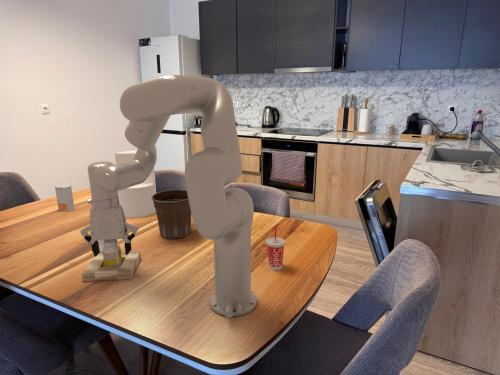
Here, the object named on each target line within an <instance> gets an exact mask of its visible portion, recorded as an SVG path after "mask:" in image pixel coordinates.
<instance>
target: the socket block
mask: <svg viewBox="0 0 500 375" xmlns="http://www.w3.org/2000/svg"><path fill="white" fill-rule="evenodd" d="M121 255H122V264H121V266H115V267H105V265H104V259H103V253H101V252H100V253H99V254H98V255H97V256H95V257H94V256H93V258H92V260H91V261H90V263H89V264H88V265H87V266H86V268H85V269H84V270H83V271H82V272H81V277H82V282H94V281H95V282H96V281H116V280H117V281H119V280H131V279H132V277H133V275H134V273H135V270H136V268H137V266H138V265H139V262H140V260H141V259H142V258H141V251H140V250H139V251H130V253H129V254H128V255H126V254H125V251H121Z"/></svg>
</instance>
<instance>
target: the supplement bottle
mask: <svg viewBox="0 0 500 375" xmlns="http://www.w3.org/2000/svg"><path fill="white" fill-rule="evenodd" d="M104 246H105V247H104V248H103V250H102V251H103V259H104V265H105V267H115V266H121V264H122V255H121V252H122V248H121V246H120V245H119V244H118V239H113V240H104Z"/></svg>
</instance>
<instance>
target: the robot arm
mask: <svg viewBox="0 0 500 375" xmlns="http://www.w3.org/2000/svg"><path fill="white" fill-rule="evenodd" d="M119 98H120V100H119V110H120V112H121V114H122V116H123V117H124V118H125V119H127V120H128V121H129V122H128V124H127V125H126V128H125V131H124V137H125V138H126V140H127V142H128V143H129V144H130V145H132V146H133V147H135V148H136V149H137V150H136V151H137V152H136V154H135V156H134V158H133V159H132V160H131V161H127V162H123V163H119V164H116V163H115V164H114V163H113V162H112V161H111V162H110V161H96V162H92V163H90V164H89V165H88V167H87V173H88V174H87V175H88V179H89V180H88V181H89V189H90V195H91V198H90V199H87V201H86V202H87V204H88V205H91V207H90V208H89V225H88V226H87V227H84V228H82V230H80V232H79V233H80V235H82V237H83V238H84V240H85V241H86V242H88V244H89V245H90V247H91V253H93V258H94V257H95V256H97V255H98V254H99V253H101V252H100V250H99V243H98V241H97V240H113V239H117V240H121V239H122V240H123V241H124V252H125V254H126V255H128V254H129V253H130V252H132V250H133V248H132V240H133V239H134V238H135V236H136V235H137V232H138V231H139V227H138V226H135V225H132V224H130V223H128V222H127V219H126V218H127V217H125V214H124V211H123V208H122V205H121V204H119V197H118V191H120V190H123V189H126V188H129V187H132V186H135V185H138V184H141V183H143V182H144V181H145V180H146V179H147V178H148V177H149V175H150V173H151V172H152V170H153V168H154V169H155V166H156V163H157V161H158V160H157V159H158V156H157V155H158V151H157V147H156V144H157V142H158V139H160V136H161V135H162V132H163V130H164V128H165V127H166V125H167V123H168V121H169V120H170V117H171V116H175V115H183V114H192V113H201V114H202V118H201V121H200V135H201V136H200V137H201V140H202V147H203V149H202V150H199V151H197V152H195V153H193V154H192V155H191V156H190V157H189V158H188V160H187V162H186V164H185V169H184V182H185V186H186V187H185V188H186V190H187V193H188V199H189V204H190V209H191V220H192V221H193V225H194V226H195V229H196V230H197V232H198V234H199V235H201V236H202V237H203V238H205V239H207V240H210V241H211V240H212V241H213V263H214V264H213V266H214V267H213V268H214V269H213V270H214V287H215V288H214V290H215V291H214V292H213V293H212V295H210V297H209V305H210V308H211V309H212V310H213V312H215V313H216V314H219V315H222V316H224V317H226V318H227V319H229V318H232V317H239V316H244V315H246V314H249V313H251V312H252V311H253V310H254V309H255V308H256V306H257V303H258V297H257V295H256V293H255V292H254V291H252V256H251V255H252V228H253V227H252V226H253V220H254V212H255V211H254V209H255V208H254V206H255V205H254V201H253V198H252V197H251V195H250V193H248V192H247V190H245V189H243V188H240V187H235V186H234V187H229V188H226V187H227V186H228V185H230V184H232V183H234V182H236V181H238V179H239V178H240V177H241V175H242V173H243V161H242V154H241V150H240V149H241V148H240V143H239V136H238V135H239V134H238V131H237V126H236V118H235V109H234V108H235V106H234V103H233V99H232V95H231V93H230V91H229V90H228V89H227V87H226V86H225V85H224V84H223V83H221V82H220V81H218V80H216V79H214V78H210V77H206V76H200V75H183V74H180V75H179V74H169V75H168V74H166V75H163V76H158V77H155V78H152V79H149V80H146V81H143V82H139V83H136V84H132V85H130V86H128V87H127V88H126V89H125V90H124V91H123V92H122V94H121V97H119ZM128 230H130V231H131V234H129V233H128ZM88 232H90V233H88Z"/></svg>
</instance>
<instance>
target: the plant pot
mask: <svg viewBox="0 0 500 375" xmlns="http://www.w3.org/2000/svg"><path fill="white" fill-rule="evenodd" d="M151 198H152V200H153V203H154V207H155V209H156V213H155V214H156V220H157V225H158V230H159V234H160V236H161V237H162V238H164V239H170V240H175V239H176V238H177V239H183V238H185V237H187V236H189V235H190V234H191V232H192V214H191V209H190V204H189V199H188V193H187V189H186V190H185V189H167V190H163V191H158V192H156V193H155V194H154V195H152V197H151Z"/></svg>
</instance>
